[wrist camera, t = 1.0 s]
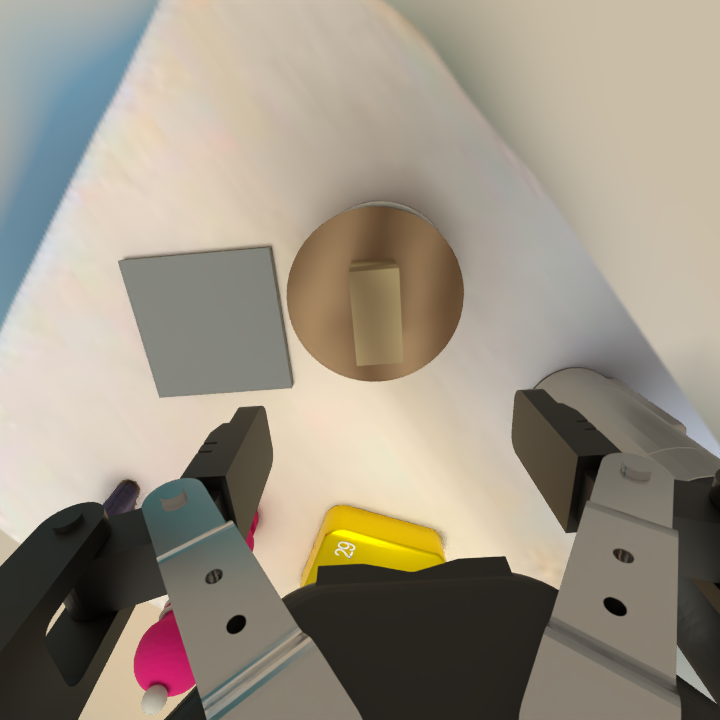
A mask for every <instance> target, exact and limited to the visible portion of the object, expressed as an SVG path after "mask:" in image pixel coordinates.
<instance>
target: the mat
mask: <svg viewBox="0 0 720 720" xmlns="http://www.w3.org/2000/svg"><path fill="white" fill-rule="evenodd" d="M118 263H119V267H120V270H121V273H122V276H123V280H124V283H125V286H126V290H127V293H128V296H129V299H130V303H131V306H132V309H133V312H134V316H135V319H136V322H137V326H138V329H139V332H140V335H141V339H142V342H143V345H144V348H145V352H146V355H147V358H148V361H149V365H150V368H151V371H152V375H153V378H154V381H155V384H156V388H157V391H158V394H159V397H174V396H188V395H202V394H216V393H230V392H244V391H257V390H271V389H285V388H292V387H293V377H292V371H291V365H290V359H289V353H288V346H287V340H286V334H285V328H284V322H283V316H282V309H281V303H280V297H279V291H278V285H277V279H276V272H275V266H274V260H273V254H272V248H271V247H263V248H251V249H240V250H228V251H217V252H205V253H194V254H182V255H171V256H160V257H148V258H137V259H125V260H120V261H118Z"/></svg>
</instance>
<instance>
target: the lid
mask: <svg viewBox="0 0 720 720" xmlns="http://www.w3.org/2000/svg"><path fill="white" fill-rule="evenodd" d="M463 298H464V288H463V279H462V274H461V270H460V267H459V264H458V261H457V258H456V256H455V254H454V252H453V250H452V249H451V247H450V246H449V244H448V243H447V241H446V240H445V239H444V238H443V236H442V235H441V234H440V233H439V232H438V231H437V230H436V229H435V228H433V227H432V226H431V225H430V224H429V223H427V222H426V221H424V220H422V219H421V218H419V217H417V216H415V215H413V214H411V213H408V212H406V211H402V210H399V209H395V208H389V207H364V208H357V209H353V210H350V211H347V212H344V213H342V214H340V215H337V216H335V217H333V218H331V219H330V220H328V221H327V222H325V223H324V224H322V225H321V226H320V227H319V228H318V229H316V230H315V231H314V232H313V233H312V234H311V235H310V236H309V238H308V239H307V240H306V241H305V242H304V244H303V245H302V247H301V248H300V250H299V251H298V253H297V255H296V257H295V259H294V262H293V264H292V267H291V270H290V273H289V279H288V284H287V306H288V312H289V316H290V320H291V323H292V326H293V328H294V331H295V333H296V335H297V336H298V338H299V340H300V342H301V343H302V344H303V346H304V347H305V349H306V350H307V351H308V352H309V353H310V354H311V355H312V356H313V357H314V358H315V359H316V360H317V361H318V362H319V363H321V364H322V365H324V366H325V367H326V368H328V369H329V370H331V371H333V372H335V373H337V374H339V375H342V376H345V377H348V378H351V379H356V380H361V381H387V380H393V379H397V378H401V377H404V376H406V375H409V374H411V373H413V372H415V371H417V370H419V369H421V368H422V367H424V366H425V365H427V364H428V363H430V362H431V361H432V360H433V359H434V358H435V357H436V356H438V355H439V353H440V352H441V351H442V350H443V349H444V348H445V347H446V345H447V344H448V342H449V341H450V339H451V338H452V336H453V334H454V332H455V330H456V328H457V325H458V322H459V320H460V317H461V312H462V307H463Z"/></svg>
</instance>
